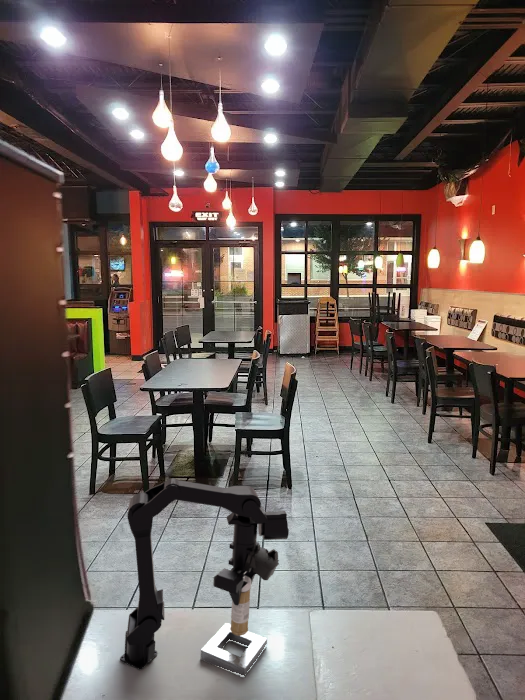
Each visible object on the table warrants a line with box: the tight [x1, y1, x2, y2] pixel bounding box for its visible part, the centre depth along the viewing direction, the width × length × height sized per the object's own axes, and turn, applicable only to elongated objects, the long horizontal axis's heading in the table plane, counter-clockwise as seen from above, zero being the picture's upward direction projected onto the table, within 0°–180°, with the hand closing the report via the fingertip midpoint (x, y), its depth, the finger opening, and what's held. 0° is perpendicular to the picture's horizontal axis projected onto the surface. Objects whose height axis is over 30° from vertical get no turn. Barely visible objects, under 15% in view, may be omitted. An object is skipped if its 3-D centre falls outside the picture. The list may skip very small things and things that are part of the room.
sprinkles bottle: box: [230, 576, 252, 636], centre depth 122 cm, size 5×5×14 cm
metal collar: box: [200, 622, 268, 676], centre depth 122 cm, size 12×12×2 cm
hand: (240, 600), depth 122 cm, fingers closed on sprinkles bottle, 4 cm apart
